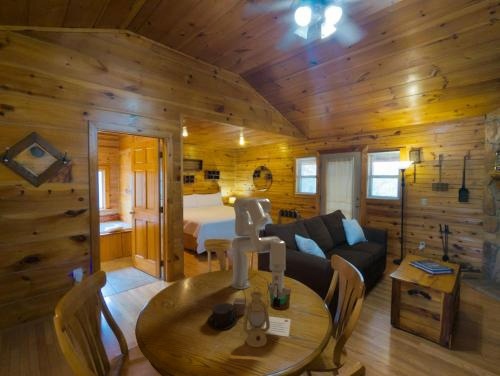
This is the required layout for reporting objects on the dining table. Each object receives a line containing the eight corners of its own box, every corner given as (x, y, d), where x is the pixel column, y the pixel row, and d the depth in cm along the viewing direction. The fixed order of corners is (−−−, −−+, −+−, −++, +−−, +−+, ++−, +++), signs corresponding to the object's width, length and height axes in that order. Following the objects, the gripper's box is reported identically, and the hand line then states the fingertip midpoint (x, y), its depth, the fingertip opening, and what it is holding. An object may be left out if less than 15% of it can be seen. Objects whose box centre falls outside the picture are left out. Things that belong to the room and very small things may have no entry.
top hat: (203, 329, 117) (203, 307, 116) (212, 312, 132) (212, 292, 131) (234, 331, 115) (234, 309, 114) (240, 314, 129) (240, 294, 129)
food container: (262, 306, 119) (262, 286, 119) (269, 301, 124) (269, 281, 124) (284, 315, 112) (284, 293, 111) (291, 309, 116) (291, 288, 116)
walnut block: (235, 308, 135) (235, 297, 134) (246, 309, 134) (246, 298, 134) (233, 314, 129) (233, 303, 129) (244, 315, 128) (244, 304, 128)
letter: (267, 316, 127) (267, 316, 127) (290, 319, 124) (290, 319, 124) (262, 333, 113) (262, 332, 113) (288, 337, 110) (288, 336, 110)
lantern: (244, 349, 102) (244, 278, 101) (241, 335, 112) (241, 269, 111) (272, 347, 104) (272, 277, 103) (267, 332, 113) (267, 268, 112)
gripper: (283, 273, 109) (283, 313, 109) (287, 261, 126) (286, 295, 126) (266, 272, 110) (266, 311, 111) (272, 259, 127) (272, 294, 128)
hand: (277, 302), depth 119 cm, fingers closed on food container, 6 cm apart
